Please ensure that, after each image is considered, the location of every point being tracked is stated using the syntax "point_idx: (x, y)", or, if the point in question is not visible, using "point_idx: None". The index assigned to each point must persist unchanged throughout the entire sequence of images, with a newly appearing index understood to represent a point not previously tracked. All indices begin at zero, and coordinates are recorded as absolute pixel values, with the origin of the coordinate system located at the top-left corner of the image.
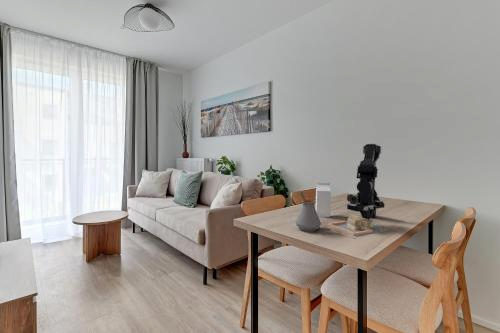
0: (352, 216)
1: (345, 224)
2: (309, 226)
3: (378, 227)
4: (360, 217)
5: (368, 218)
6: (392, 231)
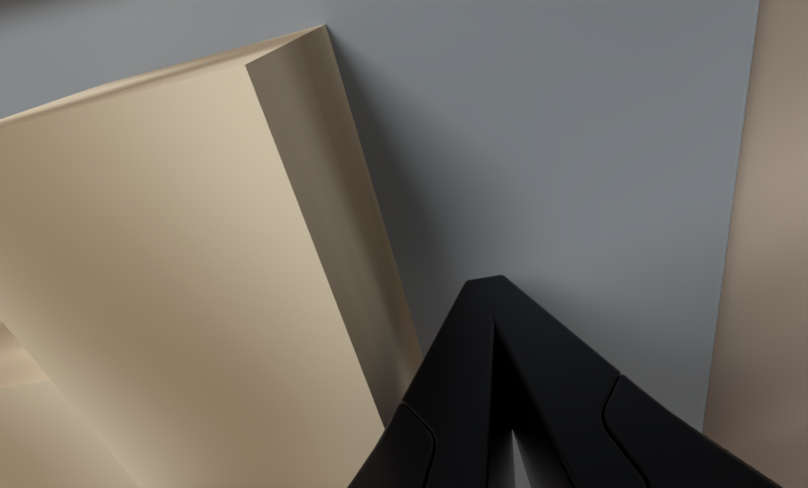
0: (72, 216)
1: (32, 50)
2: None
3: (649, 384)
4: (335, 385)
5: (530, 481)
6: (752, 450)
